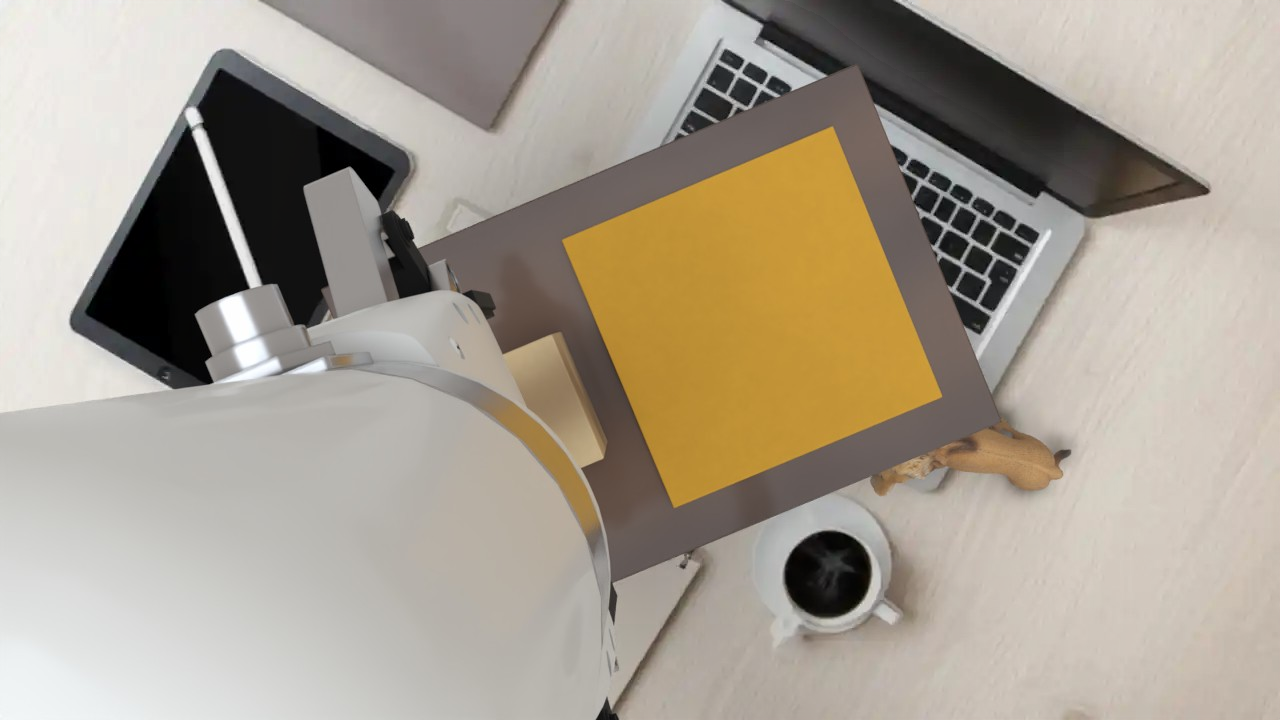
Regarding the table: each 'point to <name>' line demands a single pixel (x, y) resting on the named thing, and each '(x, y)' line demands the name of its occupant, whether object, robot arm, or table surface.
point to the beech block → (558, 396)
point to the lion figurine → (984, 460)
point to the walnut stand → (554, 302)
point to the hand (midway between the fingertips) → (508, 463)
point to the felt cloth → (752, 317)
